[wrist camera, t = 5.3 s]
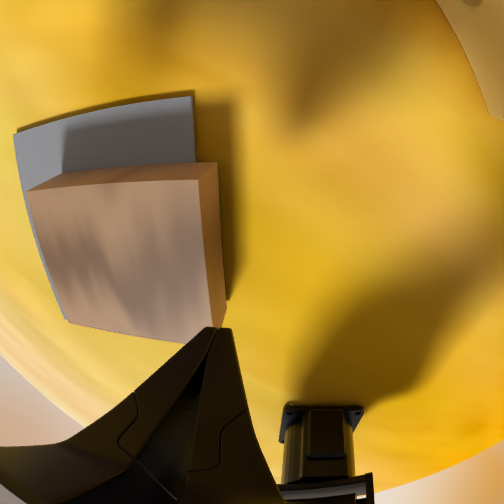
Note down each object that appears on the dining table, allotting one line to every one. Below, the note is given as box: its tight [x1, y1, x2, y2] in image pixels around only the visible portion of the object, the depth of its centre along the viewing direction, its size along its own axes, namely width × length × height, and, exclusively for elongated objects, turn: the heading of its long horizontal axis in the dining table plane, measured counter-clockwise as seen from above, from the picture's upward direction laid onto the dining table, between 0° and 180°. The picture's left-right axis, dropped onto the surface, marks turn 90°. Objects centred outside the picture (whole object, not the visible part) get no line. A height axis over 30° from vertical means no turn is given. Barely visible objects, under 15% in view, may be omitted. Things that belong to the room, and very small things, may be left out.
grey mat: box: [13, 96, 196, 320], centre depth 15 cm, size 14×12×1 cm
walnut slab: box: [26, 162, 227, 344], centre depth 14 cm, size 8×3×9 cm
